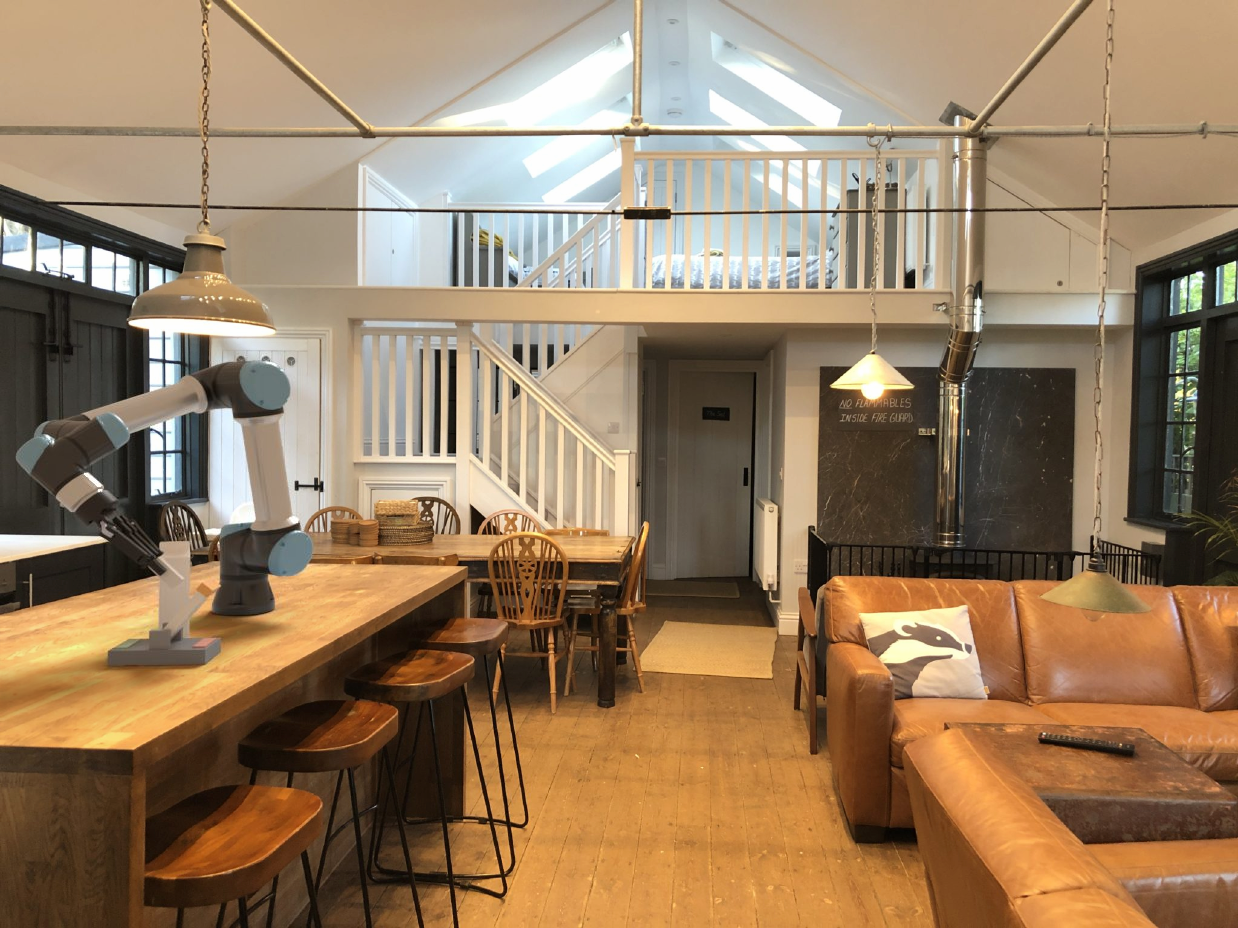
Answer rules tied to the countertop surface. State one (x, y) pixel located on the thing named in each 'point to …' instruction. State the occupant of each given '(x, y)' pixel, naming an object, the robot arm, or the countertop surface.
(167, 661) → the switch plate
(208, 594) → the handle
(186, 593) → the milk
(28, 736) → the countertop surface
